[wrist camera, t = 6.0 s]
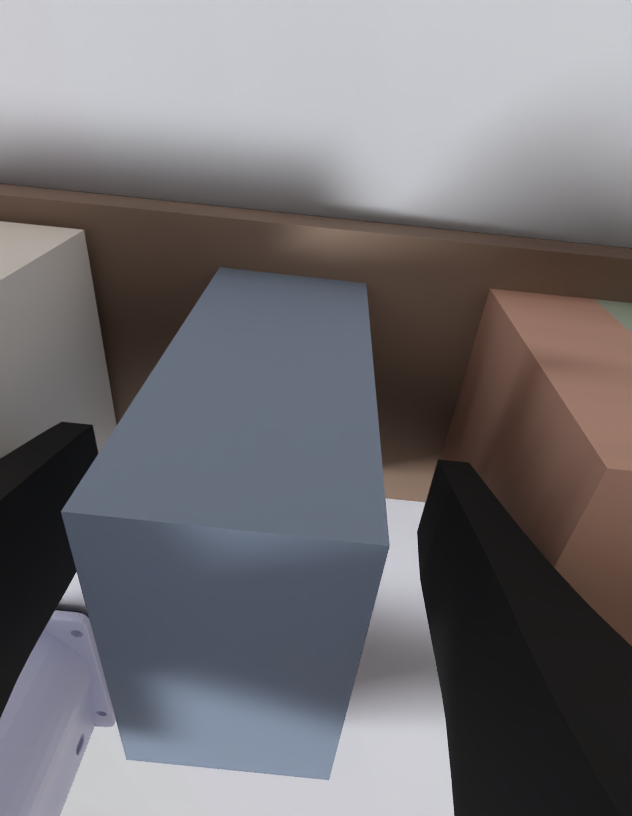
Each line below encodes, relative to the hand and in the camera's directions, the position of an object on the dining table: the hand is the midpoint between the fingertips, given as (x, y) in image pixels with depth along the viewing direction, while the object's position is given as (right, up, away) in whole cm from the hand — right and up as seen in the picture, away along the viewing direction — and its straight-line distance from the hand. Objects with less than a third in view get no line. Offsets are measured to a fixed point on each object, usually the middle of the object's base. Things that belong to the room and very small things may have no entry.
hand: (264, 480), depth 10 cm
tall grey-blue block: (0, +2, +3) cm, 4 cm away
